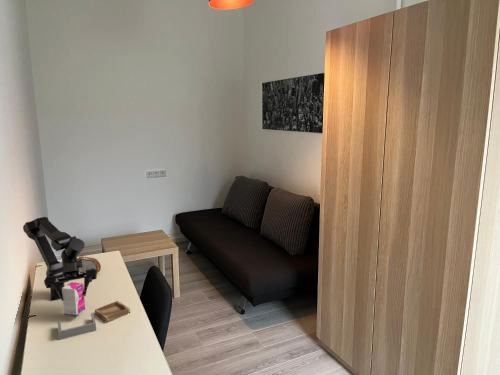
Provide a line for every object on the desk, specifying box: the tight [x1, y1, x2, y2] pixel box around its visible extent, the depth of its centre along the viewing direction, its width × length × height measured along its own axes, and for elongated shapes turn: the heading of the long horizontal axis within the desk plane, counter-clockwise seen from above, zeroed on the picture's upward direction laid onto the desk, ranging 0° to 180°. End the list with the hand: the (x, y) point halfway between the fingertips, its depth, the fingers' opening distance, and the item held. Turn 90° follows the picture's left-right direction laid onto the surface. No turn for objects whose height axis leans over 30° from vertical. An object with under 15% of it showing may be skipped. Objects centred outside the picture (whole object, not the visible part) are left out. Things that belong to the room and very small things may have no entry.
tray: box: [94, 300, 131, 324], centre depth 152 cm, size 10×10×2 cm
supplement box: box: [62, 281, 86, 317], centre depth 148 cm, size 6×6×12 cm
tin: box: [77, 255, 102, 274], centre depth 193 cm, size 15×3×8 cm, turn 71°
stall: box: [57, 312, 97, 340], centre depth 141 cm, size 9×13×3 cm
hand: (73, 298), depth 147 cm, fingers closed on supplement box, 8 cm apart
